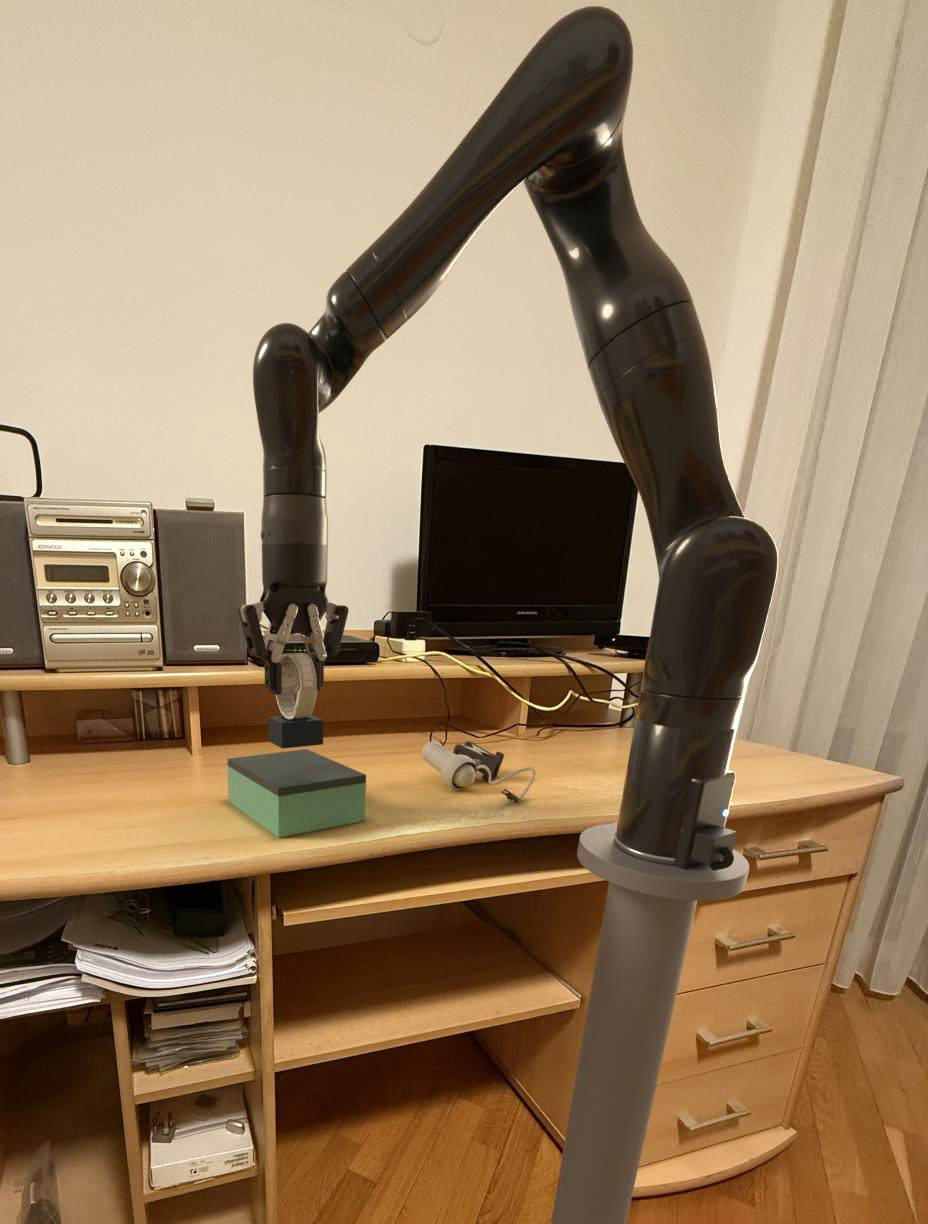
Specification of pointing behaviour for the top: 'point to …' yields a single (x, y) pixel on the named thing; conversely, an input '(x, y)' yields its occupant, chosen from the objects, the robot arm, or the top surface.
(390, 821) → the top surface
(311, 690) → the watch
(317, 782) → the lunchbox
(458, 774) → the clip-on lamp
